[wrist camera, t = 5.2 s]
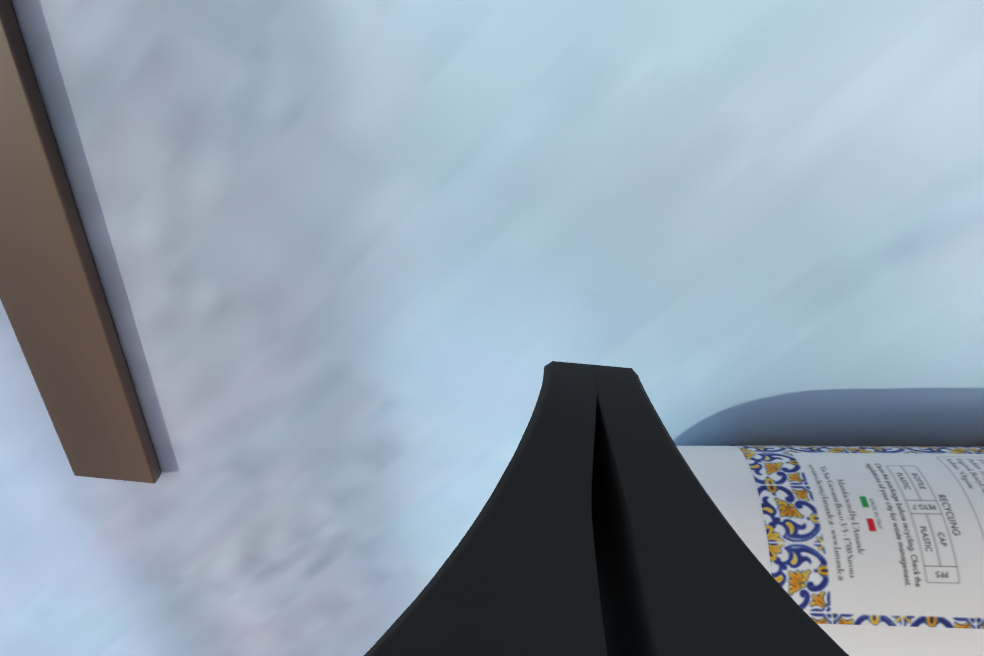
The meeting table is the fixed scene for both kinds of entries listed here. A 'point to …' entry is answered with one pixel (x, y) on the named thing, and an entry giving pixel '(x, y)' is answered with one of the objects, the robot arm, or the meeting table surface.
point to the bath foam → (863, 537)
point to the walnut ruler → (60, 288)
